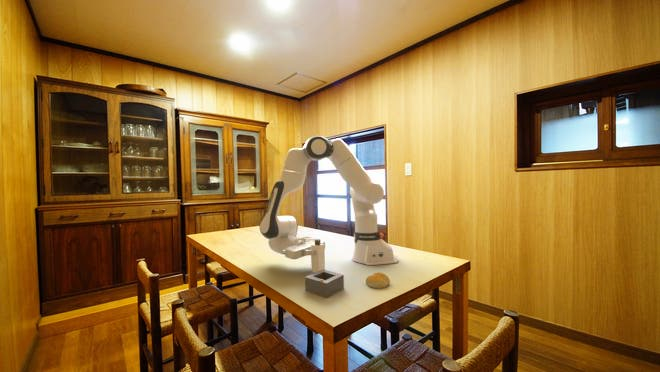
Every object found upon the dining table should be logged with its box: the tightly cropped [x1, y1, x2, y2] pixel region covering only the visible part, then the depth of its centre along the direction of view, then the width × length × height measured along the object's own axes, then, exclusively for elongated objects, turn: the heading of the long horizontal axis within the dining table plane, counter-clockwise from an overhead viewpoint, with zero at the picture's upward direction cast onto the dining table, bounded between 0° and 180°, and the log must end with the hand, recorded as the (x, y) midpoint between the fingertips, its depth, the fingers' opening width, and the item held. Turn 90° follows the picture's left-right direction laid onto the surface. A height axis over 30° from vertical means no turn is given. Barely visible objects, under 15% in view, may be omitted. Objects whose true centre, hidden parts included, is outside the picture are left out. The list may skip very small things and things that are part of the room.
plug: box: [310, 238, 326, 273], centre depth 111 cm, size 4×4×13 cm
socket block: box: [304, 269, 345, 299], centre depth 97 cm, size 10×10×5 cm
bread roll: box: [365, 271, 391, 289], centre depth 101 cm, size 8×9×4 cm
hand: (319, 251), depth 111 cm, fingers closed on plug, 4 cm apart
